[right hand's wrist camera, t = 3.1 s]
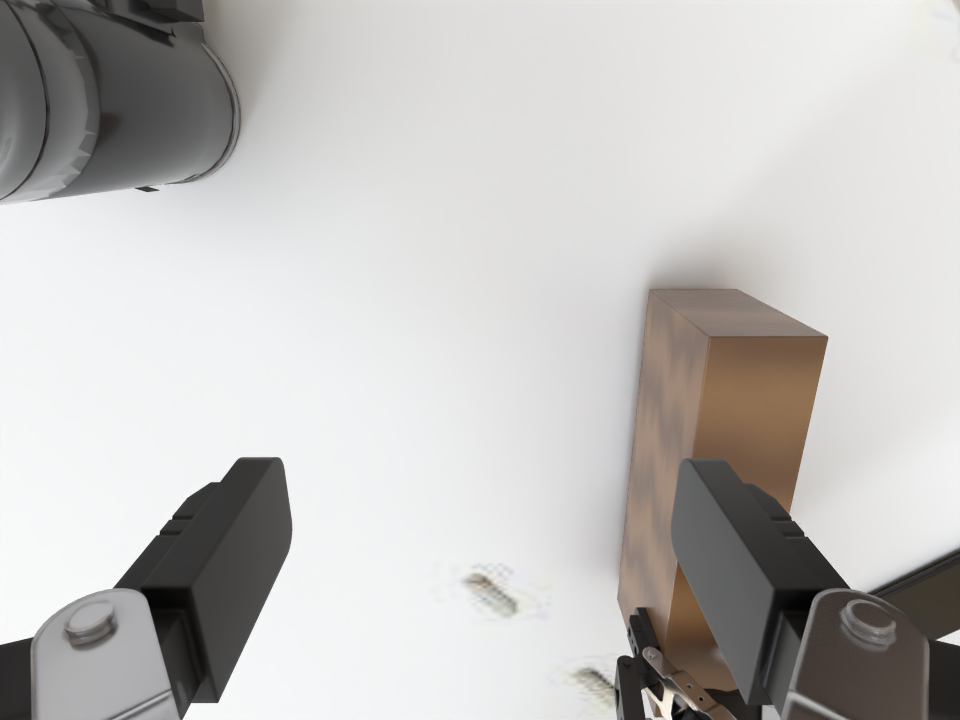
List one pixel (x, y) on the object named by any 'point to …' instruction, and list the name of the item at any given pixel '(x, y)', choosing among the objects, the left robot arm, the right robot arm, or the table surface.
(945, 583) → the smartphone
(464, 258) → the table surface
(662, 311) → the box
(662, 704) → the left robot arm
